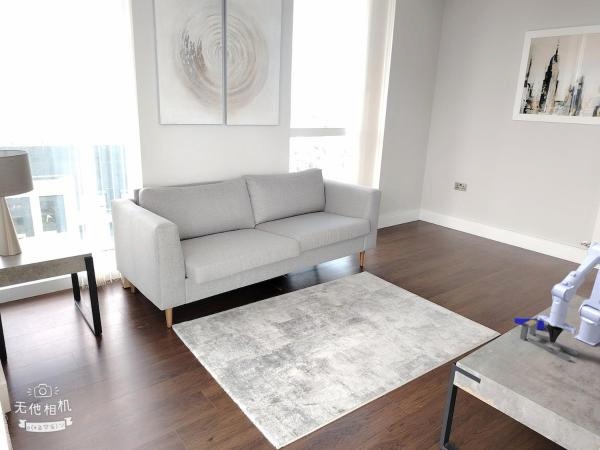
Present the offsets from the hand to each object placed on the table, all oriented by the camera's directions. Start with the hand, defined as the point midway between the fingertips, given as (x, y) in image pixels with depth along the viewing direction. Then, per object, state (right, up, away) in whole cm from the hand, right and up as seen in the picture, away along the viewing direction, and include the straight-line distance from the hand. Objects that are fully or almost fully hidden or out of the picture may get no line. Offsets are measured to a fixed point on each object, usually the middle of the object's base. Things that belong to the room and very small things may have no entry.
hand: (552, 341), depth 178 cm
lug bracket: (-6, -1, +9) cm, 11 cm away
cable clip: (-1, +4, +17) cm, 17 cm away
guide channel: (0, -3, +1) cm, 3 cm away
